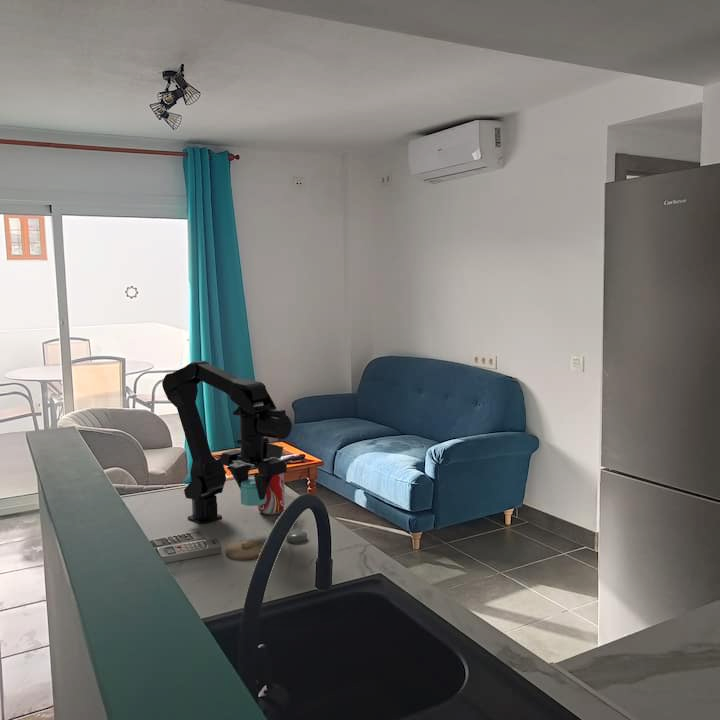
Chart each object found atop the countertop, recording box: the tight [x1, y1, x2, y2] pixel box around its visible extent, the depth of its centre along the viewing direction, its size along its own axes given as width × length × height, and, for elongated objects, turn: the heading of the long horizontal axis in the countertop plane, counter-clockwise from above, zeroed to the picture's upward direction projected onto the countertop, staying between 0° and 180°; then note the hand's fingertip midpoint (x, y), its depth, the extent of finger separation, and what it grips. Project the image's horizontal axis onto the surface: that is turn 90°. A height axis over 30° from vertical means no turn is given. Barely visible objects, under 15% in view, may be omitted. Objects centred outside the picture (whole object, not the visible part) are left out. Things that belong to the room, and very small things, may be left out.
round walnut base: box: [225, 539, 265, 561], centre depth 163 cm, size 9×9×2 cm
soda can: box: [258, 473, 285, 516], centre depth 191 cm, size 7×7×12 cm
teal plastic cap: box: [240, 478, 266, 507], centre depth 175 cm, size 6×6×5 cm
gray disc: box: [285, 530, 308, 544], centre depth 171 cm, size 5×5×2 cm
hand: (253, 496), depth 175 cm, fingers closed on teal plastic cap, 6 cm apart
